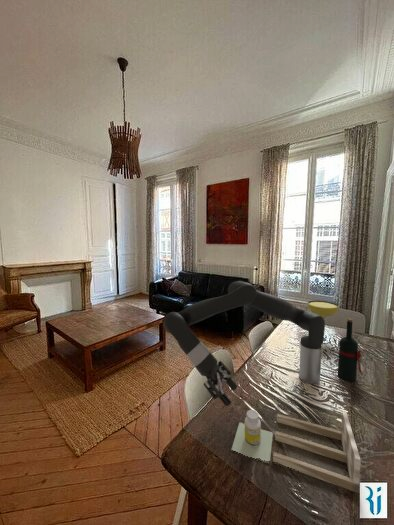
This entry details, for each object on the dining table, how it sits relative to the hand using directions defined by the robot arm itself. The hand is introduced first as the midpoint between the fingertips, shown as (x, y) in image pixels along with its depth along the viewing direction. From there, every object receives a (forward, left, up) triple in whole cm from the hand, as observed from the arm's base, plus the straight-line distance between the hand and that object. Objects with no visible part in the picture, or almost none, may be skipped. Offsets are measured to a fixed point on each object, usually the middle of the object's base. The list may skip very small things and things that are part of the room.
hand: (232, 396), depth 78 cm
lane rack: (-4, +25, -15) cm, 29 cm away
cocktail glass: (-96, +37, -15) cm, 104 cm away
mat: (0, +7, -15) cm, 17 cm away
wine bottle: (-53, +45, -15) cm, 72 cm away
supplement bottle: (0, +7, -15) cm, 16 cm away
